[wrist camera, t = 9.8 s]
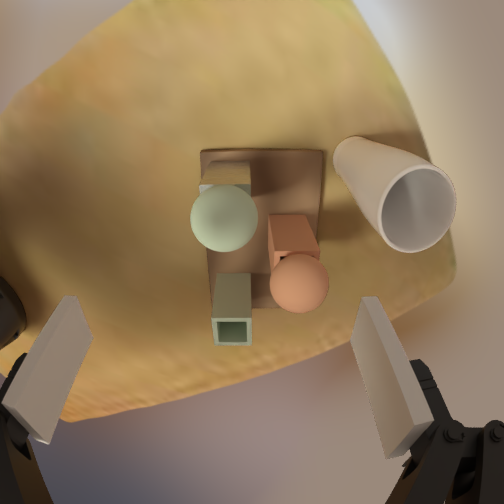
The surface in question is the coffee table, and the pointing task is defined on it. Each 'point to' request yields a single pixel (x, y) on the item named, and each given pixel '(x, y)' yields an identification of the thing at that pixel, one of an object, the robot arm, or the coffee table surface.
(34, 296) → the coffee table surface
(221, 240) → the sage ball
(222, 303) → the sage tube
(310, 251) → the terracotta tube
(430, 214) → the drinking glass
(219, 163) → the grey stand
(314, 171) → the board
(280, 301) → the terracotta ball
